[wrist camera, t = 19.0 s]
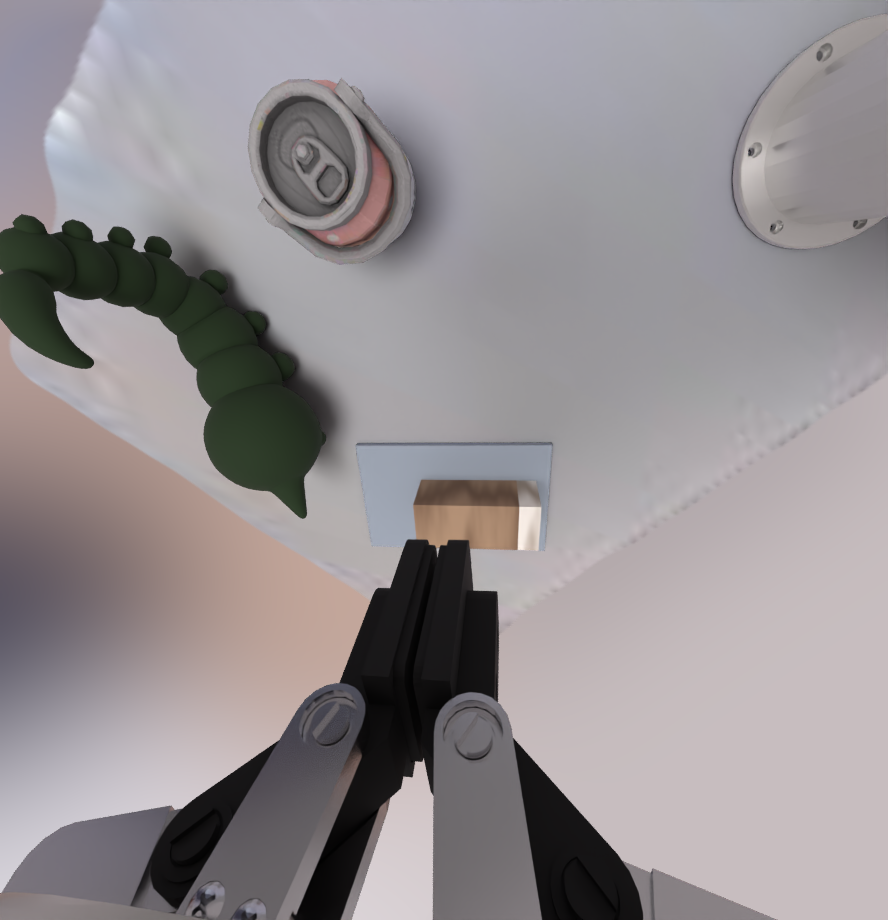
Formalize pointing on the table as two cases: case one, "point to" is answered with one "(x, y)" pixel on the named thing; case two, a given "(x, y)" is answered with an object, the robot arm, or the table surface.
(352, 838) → the robot arm
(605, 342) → the table surface
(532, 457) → the rubber mat
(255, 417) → the toy figurine
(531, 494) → the brown tall block
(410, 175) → the beverage can
